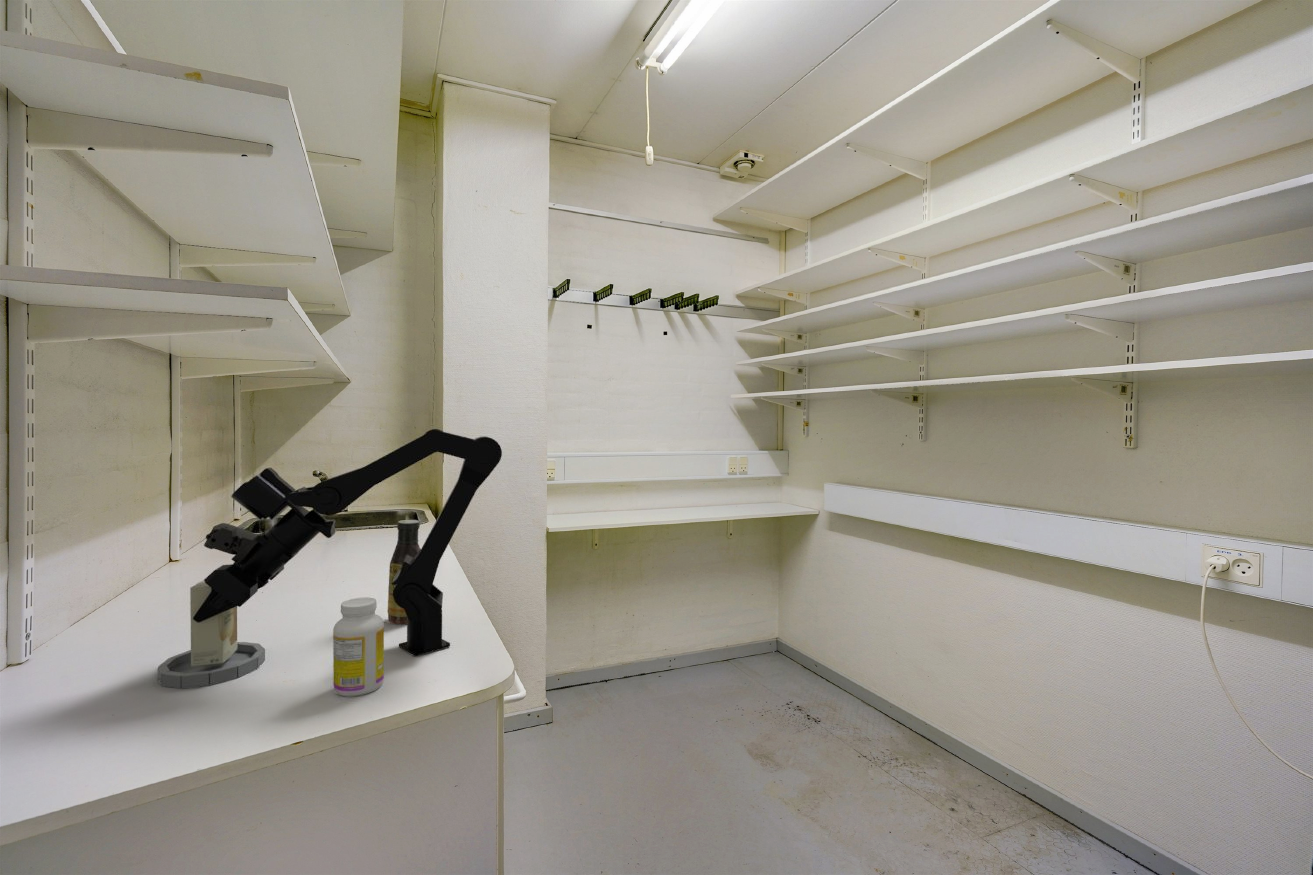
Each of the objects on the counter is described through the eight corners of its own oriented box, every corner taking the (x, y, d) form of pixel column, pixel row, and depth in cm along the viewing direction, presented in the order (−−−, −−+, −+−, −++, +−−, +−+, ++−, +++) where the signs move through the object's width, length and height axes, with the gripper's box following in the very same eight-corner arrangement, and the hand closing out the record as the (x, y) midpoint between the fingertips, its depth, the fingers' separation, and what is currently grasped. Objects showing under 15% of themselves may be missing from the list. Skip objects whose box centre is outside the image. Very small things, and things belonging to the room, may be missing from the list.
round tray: (274, 668, 91) (274, 657, 91) (167, 696, 82) (167, 683, 81) (251, 646, 100) (251, 636, 100) (152, 669, 90) (152, 657, 90)
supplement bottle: (371, 674, 90) (372, 592, 90) (392, 686, 86) (392, 601, 85) (325, 688, 85) (325, 602, 84) (344, 703, 80) (345, 611, 80)
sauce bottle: (380, 623, 113) (381, 522, 112) (403, 613, 118) (404, 517, 118) (407, 627, 110) (408, 524, 110) (429, 617, 116) (430, 519, 116)
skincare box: (223, 664, 88) (222, 585, 88) (189, 667, 87) (188, 587, 87) (239, 648, 95) (238, 574, 94) (207, 651, 93) (206, 576, 93)
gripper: (262, 498, 100) (186, 566, 97) (220, 514, 83) (126, 598, 79) (314, 540, 103) (242, 608, 100) (284, 565, 85) (196, 647, 82)
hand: (204, 613), depth 90 cm, fingers closed on skincare box, 6 cm apart
